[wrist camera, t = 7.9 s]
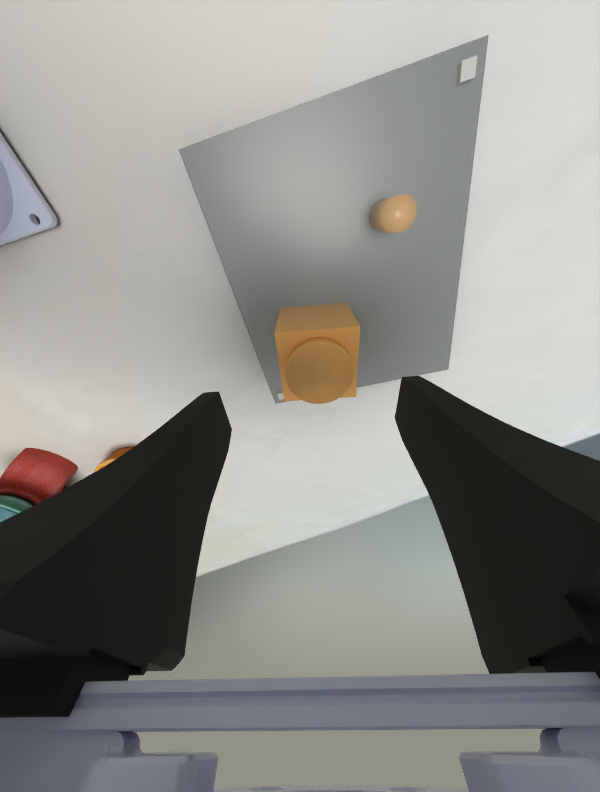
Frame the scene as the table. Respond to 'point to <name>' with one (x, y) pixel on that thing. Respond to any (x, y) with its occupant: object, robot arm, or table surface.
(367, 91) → the plate
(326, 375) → the cube with round knob
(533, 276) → the table surface
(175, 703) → the robot arm
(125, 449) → the stacking stones toy
